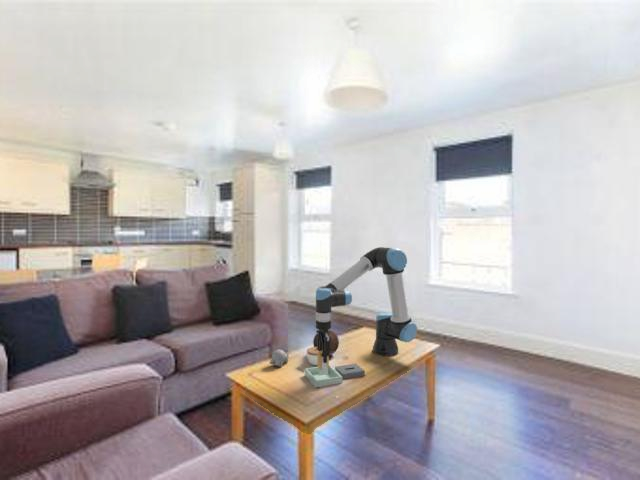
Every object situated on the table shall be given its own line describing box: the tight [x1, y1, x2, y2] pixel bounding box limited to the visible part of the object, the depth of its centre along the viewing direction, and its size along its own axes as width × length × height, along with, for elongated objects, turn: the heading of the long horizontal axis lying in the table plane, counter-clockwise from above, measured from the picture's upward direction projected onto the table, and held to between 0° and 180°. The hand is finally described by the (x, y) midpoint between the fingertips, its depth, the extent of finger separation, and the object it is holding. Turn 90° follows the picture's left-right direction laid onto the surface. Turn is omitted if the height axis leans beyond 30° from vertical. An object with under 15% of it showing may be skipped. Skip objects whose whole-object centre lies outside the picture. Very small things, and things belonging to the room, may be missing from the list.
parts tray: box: [304, 364, 343, 389], centre depth 178 cm, size 14×16×4 cm
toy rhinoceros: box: [269, 349, 290, 368], centre depth 197 cm, size 7×12×8 cm, turn 140°
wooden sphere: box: [312, 329, 340, 356], centre depth 212 cm, size 15×15×15 cm
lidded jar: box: [306, 346, 319, 366], centre depth 198 cm, size 11×11×9 cm
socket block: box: [334, 363, 366, 380], centre depth 185 cm, size 12×10×3 cm
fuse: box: [316, 351, 330, 375], centre depth 178 cm, size 5×3×12 cm, turn 111°
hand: (323, 367), depth 178 cm, fingers closed on fuse, 3 cm apart
